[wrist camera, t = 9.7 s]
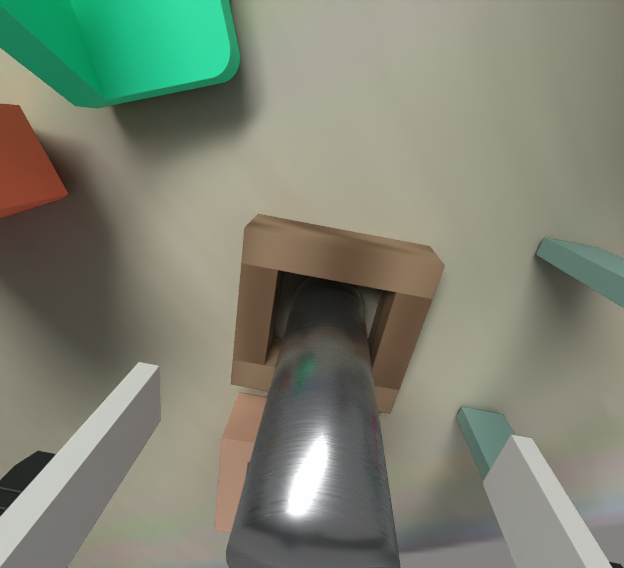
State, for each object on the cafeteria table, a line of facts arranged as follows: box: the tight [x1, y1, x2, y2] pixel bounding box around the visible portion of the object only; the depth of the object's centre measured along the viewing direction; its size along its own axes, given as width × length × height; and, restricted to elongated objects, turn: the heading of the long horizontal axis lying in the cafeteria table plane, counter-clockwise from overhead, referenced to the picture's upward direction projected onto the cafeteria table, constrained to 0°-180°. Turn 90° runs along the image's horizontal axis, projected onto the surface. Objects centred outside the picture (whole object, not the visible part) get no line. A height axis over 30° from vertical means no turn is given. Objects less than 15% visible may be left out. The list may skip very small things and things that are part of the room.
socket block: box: [231, 214, 445, 414], centre depth 20 cm, size 10×10×3 cm
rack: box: [215, 393, 267, 533], centre depth 25 cm, size 10×10×4 cm
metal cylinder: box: [226, 277, 400, 568], centre depth 15 cm, size 4×4×14 cm
